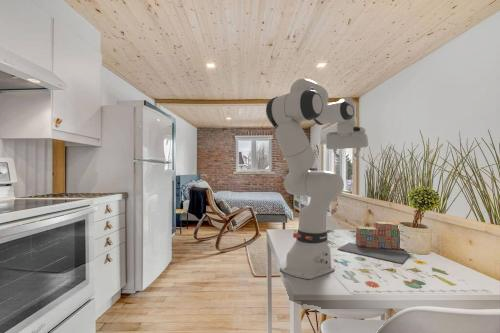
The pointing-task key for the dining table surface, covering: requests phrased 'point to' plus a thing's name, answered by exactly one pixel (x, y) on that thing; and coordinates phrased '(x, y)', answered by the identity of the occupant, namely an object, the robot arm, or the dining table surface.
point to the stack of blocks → (379, 235)
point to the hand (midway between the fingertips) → (346, 157)
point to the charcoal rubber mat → (375, 253)
